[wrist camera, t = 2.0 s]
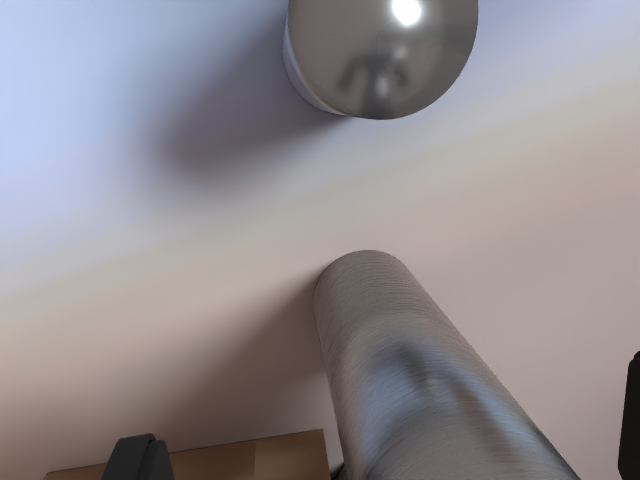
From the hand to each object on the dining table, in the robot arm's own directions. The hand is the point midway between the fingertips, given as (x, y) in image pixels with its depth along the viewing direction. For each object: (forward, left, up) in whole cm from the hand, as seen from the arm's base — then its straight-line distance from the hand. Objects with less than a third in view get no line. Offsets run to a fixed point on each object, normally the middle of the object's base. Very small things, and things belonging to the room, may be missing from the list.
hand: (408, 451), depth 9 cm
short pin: (-1, -8, -7) cm, 11 cm away
